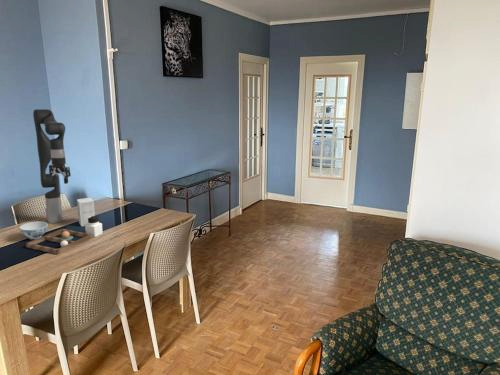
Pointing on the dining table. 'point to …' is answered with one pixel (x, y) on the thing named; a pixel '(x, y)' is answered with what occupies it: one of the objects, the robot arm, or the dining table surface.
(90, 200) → the supplement box
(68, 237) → the felt pad
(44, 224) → the chinaware
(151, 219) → the dining table surface
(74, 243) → the dark wooden tray
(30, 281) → the dining table surface
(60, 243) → the off-white ball
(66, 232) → the terracotta ball
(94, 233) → the medicine bottle
